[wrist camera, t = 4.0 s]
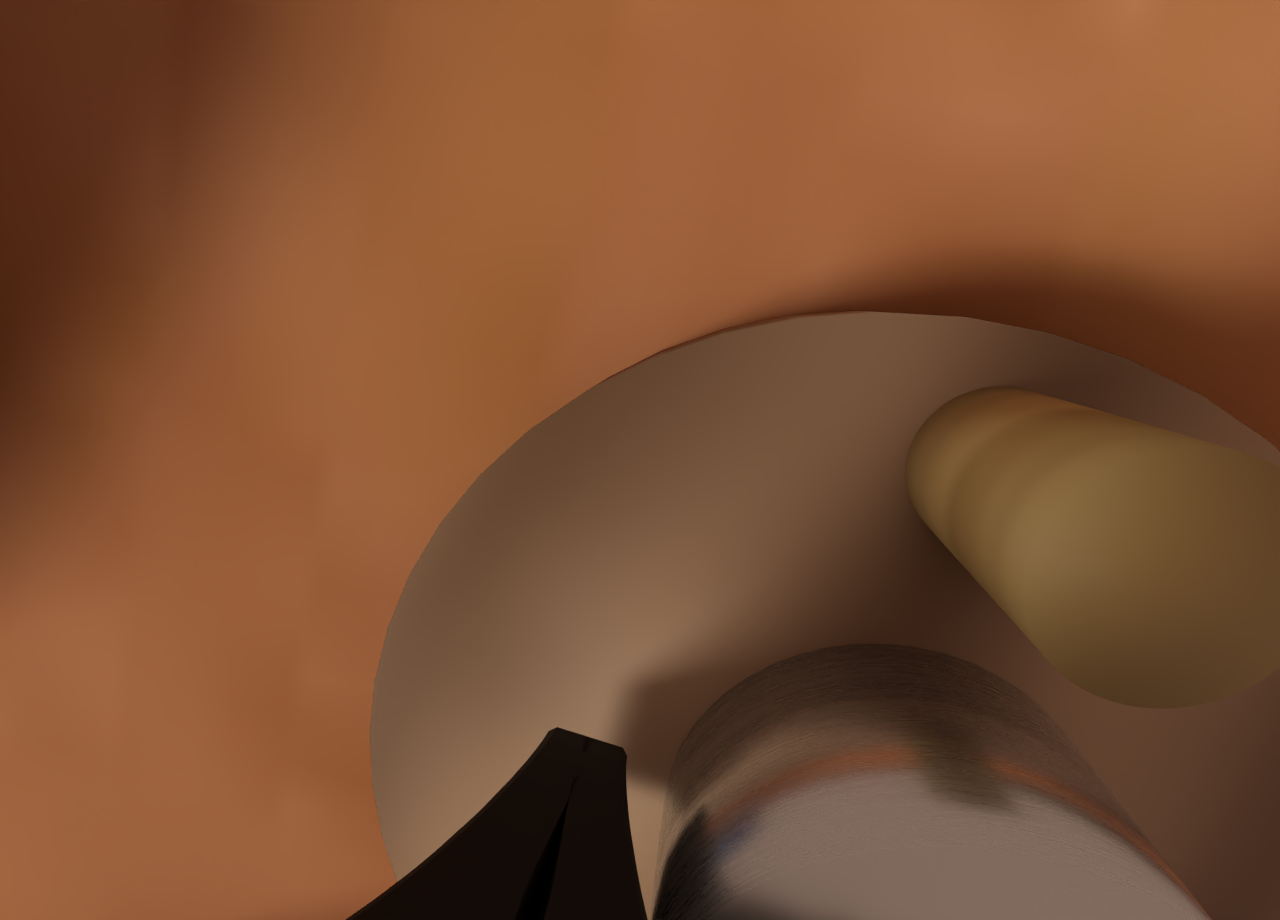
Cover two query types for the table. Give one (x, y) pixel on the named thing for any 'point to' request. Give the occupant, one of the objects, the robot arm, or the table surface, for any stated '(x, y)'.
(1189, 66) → the table surface
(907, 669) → the cover
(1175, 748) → the tan bowl
